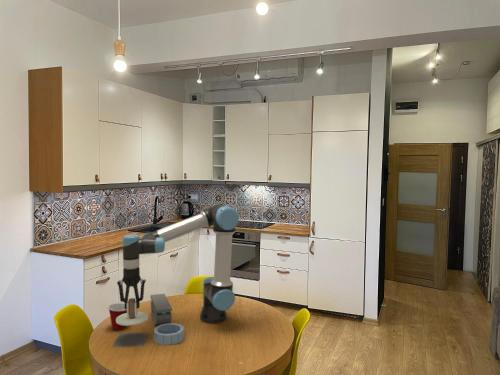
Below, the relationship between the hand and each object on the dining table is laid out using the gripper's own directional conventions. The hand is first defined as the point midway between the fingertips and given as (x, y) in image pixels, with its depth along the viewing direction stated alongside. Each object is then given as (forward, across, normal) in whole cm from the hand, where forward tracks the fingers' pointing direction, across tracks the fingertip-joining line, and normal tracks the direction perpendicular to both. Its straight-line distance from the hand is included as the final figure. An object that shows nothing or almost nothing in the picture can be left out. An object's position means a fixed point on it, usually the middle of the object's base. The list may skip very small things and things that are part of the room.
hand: (132, 315), depth 178 cm
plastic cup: (+13, +10, -14) cm, 21 cm away
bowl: (+13, -17, 0) cm, 21 cm away
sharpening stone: (+13, -10, -23) cm, 28 cm away
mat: (+12, +1, 0) cm, 12 cm away
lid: (+2, 0, 0) cm, 2 cm away
